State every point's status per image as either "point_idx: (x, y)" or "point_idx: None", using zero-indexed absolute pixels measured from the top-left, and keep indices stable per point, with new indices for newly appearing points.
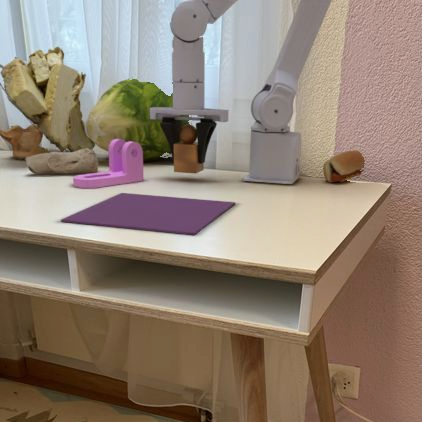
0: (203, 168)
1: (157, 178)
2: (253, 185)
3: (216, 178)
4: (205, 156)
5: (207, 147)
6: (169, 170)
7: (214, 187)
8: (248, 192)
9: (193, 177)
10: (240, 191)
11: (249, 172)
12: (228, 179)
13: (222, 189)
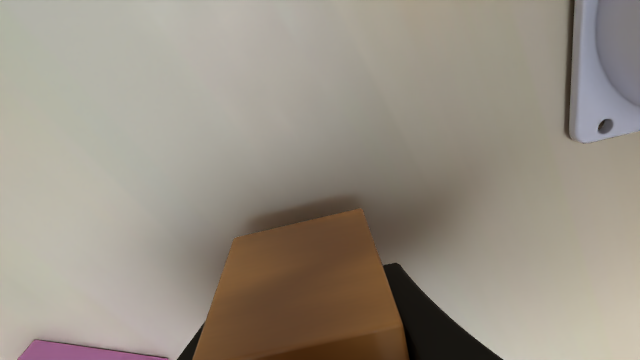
0: (363, 212)
1: (168, 293)
2: (633, 180)
3: (404, 131)
4: (410, 278)
5: (445, 316)
6: (15, 72)
7: (482, 303)
8: (633, 304)
9: (286, 179)
10: (600, 306)
11: (623, 71)
12: (473, 118)
13: (524, 314)
